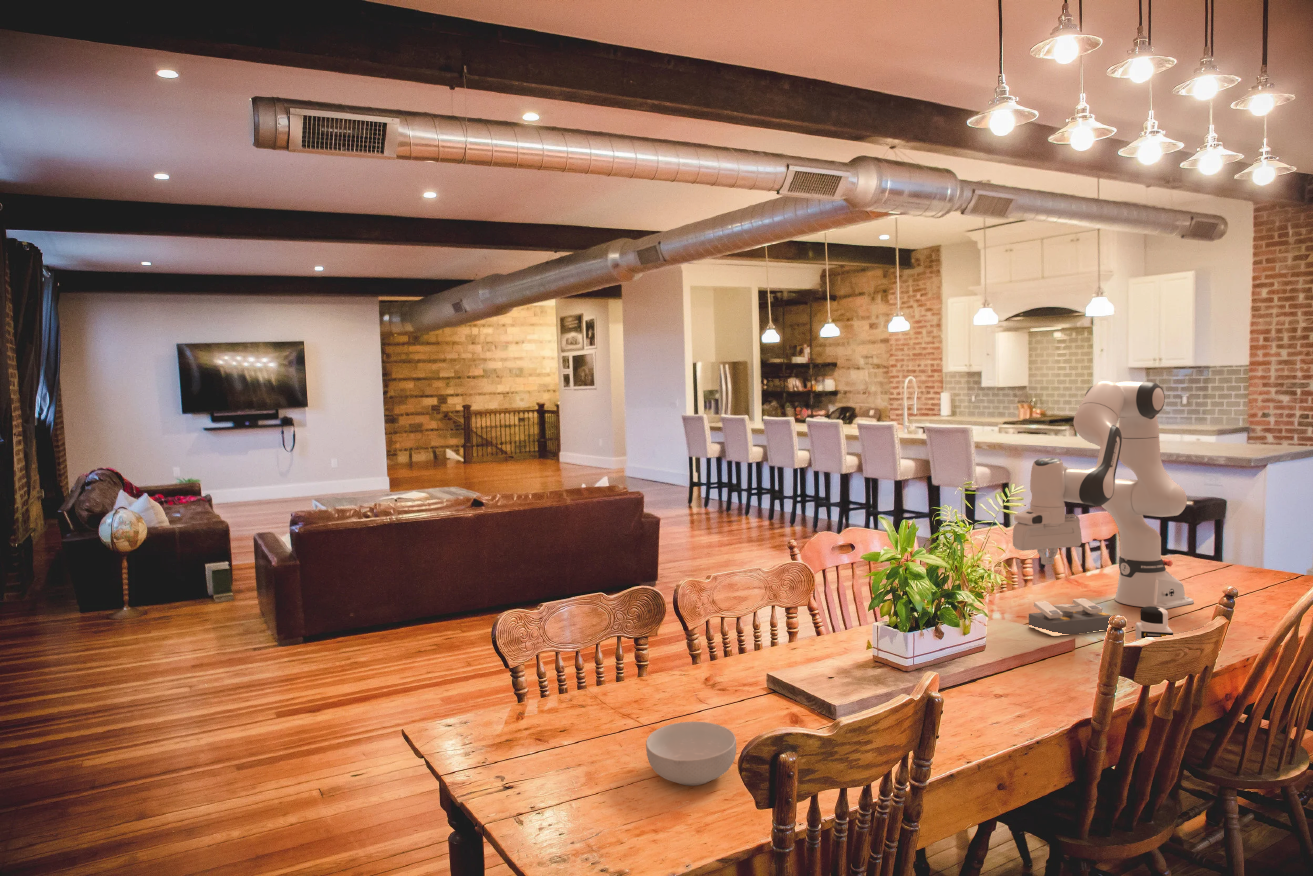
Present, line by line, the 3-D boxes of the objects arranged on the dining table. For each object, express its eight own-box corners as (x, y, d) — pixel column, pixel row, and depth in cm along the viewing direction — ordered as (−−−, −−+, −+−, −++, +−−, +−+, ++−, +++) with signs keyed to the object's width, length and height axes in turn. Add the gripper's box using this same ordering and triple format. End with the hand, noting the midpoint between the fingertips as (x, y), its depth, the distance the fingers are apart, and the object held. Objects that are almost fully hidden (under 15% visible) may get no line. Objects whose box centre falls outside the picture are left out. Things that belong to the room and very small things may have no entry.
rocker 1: (1045, 604, 235) (1046, 600, 234) (1062, 617, 228) (1063, 613, 228) (1033, 606, 234) (1034, 601, 234) (1049, 618, 227) (1050, 614, 227)
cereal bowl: (680, 748, 163) (679, 714, 162) (753, 769, 153) (752, 732, 153) (628, 783, 149) (627, 745, 149) (705, 807, 139) (704, 767, 139)
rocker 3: (1084, 601, 238) (1084, 597, 237) (1101, 612, 231) (1102, 607, 231) (1072, 603, 237) (1072, 598, 237) (1089, 613, 230) (1090, 609, 230)
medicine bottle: (1141, 657, 207) (1141, 610, 207) (1135, 648, 214) (1135, 603, 213) (1173, 659, 205) (1173, 612, 204) (1166, 650, 212) (1166, 605, 211)
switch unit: (1087, 620, 240) (1087, 603, 240) (1113, 630, 230) (1113, 612, 230) (1028, 627, 236) (1028, 609, 235) (1052, 637, 226) (1052, 618, 226)
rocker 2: (1065, 608, 236) (1064, 603, 236) (1082, 610, 229) (1082, 605, 230) (1053, 609, 235) (1052, 604, 235) (1070, 611, 229) (1070, 606, 229)
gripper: (1071, 511, 235) (1071, 559, 236) (1009, 516, 230) (1009, 564, 231) (1087, 514, 229) (1087, 563, 229) (1023, 519, 224) (1024, 568, 225)
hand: (1047, 563), depth 230 cm, fingers closed
